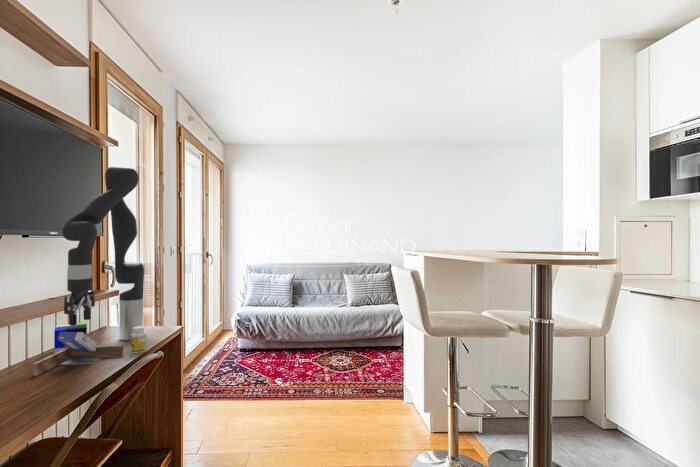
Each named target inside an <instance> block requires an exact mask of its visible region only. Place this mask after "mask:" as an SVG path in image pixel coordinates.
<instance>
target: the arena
mask: <svg viewBox="0 0 700 467" xmlns="http://www.w3.org/2000/svg"><path fill="white" fill-rule="evenodd" d="M123 356H124V345H98V346H97V348H96V350H95V351H73V350H72V349H70V348H69V347H68V348H66V349H63V350H61V351H59V352H57V353H55V354H54V353H53V354H50V355H48V356H46V357H45V358H42V359H40V360H38V361H36V362H34V363H32V368H33V369H32V370H33V372H32V375H33V377H37V376H39V375H41V374H43V373H45V372H48V371H50V370H51V369H53V368H55V367H57V366H65V365H67V366H69V365H93V364H94V363H95V362H98V361H100V360H101V359H102V358H117V357H118V358H120V357H123Z"/></svg>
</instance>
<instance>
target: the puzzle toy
mask: <svg viewBox="0 0 700 467" xmlns="http://www.w3.org/2000/svg"><path fill="white" fill-rule="evenodd" d="M87 325H88V322H79V323H78V322H77V324H76V325H69V323H68V324H56V326H55V328H54V330H53V331H54V333H53V334H54V337H53V339H54V344H53V346H54V349H53V350H54V351H53V354H55V353H57V352H59V351H61V350H63V349H66V348H68V347H67V346H66V345H64V344H63V343H62V342H60V341H59V340H57V338H58V336H59V334H60V332H83V333H84V334H86V335H87V336H88V326H87Z"/></svg>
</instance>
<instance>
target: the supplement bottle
mask: <svg viewBox="0 0 700 467" xmlns="http://www.w3.org/2000/svg"><path fill="white" fill-rule="evenodd" d="M133 332H134V333H132V334H131V340H130V353H131V354H140V353H139V352H141V353H144V352H143V351H145V352H147V349H148V348H147V345H148V344H147V332H146V331H145V326H144V325H143V326H138V327H133Z"/></svg>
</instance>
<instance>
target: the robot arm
mask: <svg viewBox="0 0 700 467" xmlns="http://www.w3.org/2000/svg"><path fill="white" fill-rule="evenodd" d="M139 180H140V178H139V174H138V171H137V170H136V169H135V168H132V167H125V166H109V167H107V168H106V171H105V174H104V181H105V187H106V191H105V192H103V193H101V194H99V195H97V196H95V197H94V198H93V199H92V200H91V201H90V202H89V203H88V204H87V205H86V206H85V208H83V210H81V212H79V213H77V214H76V215H74V216H73V217H71V218H70V219H68V221H66V222H65V224H64V225H63V227H62V232H61V234H62V237H63V238H64V239H66V241H69V242H78V245H77V246H76V247H73V248H70V249H68V252H67V269H66V270H67V271H66V274H67V275H66V277H67V278H66V280H67V284H66V286H67V287H66V288H67V291H68V292H70V296H69V295H68V296H67V295H66V296H64V299H63V300H64V301H63V302H64V304H63V305H64V306H63V314H64V315H68V324H69V325H76V324H77V323H78V322H77V321H78V318H77V317H78V314H77V313H78V311H79V310H80V309H81V307H82V308H83V310H82V311H83V313H82V314H83V321H89V320H91V319H92V309H93V307H95V306H96V303H95V302H96V299H95V290H93V289H94V288H93V276H94V275H93V273H94V272H93V259H92V256H93V255H92V254H93V250H94V247H95V243H96V241H97V236H98V228H97V227H96V225H99V224H100V223H101V222H103V220H104V219H105V218H106V216H107V215H108V214H109V212H110V220H111V231H112V240H113V247H114V248H113V249H114V275H115V276H114V277H115V281H116V282H117V283H118V284H120V285H122V284H123V285H124V284H125V285H127V284H128V285H131V284H132V285H133V287H132V288H130V289H128V290H125V291H123V292H120V293H119V340H121V341H131V334H132V333H134V332H133V327H138V326H144V283H145V282H144V281H145V266H144V264H143V263H142V262H126V261H125V260H126V255H127V252H128V251H129V249H130V247H131V246H132V244H133V243H134V241H135V239H136V238H137V235H138V228H137V224H138V223H137V219H136V217H135V215H134V213H133V212H132V210H131V208H129V206H128V205H127V203H126V201H125V199H124V198H125V197H126V196H127V195H129V194H130V193H131V192H132V191H133V190H135V189H136V187H137V186H138V183H139Z"/></svg>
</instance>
